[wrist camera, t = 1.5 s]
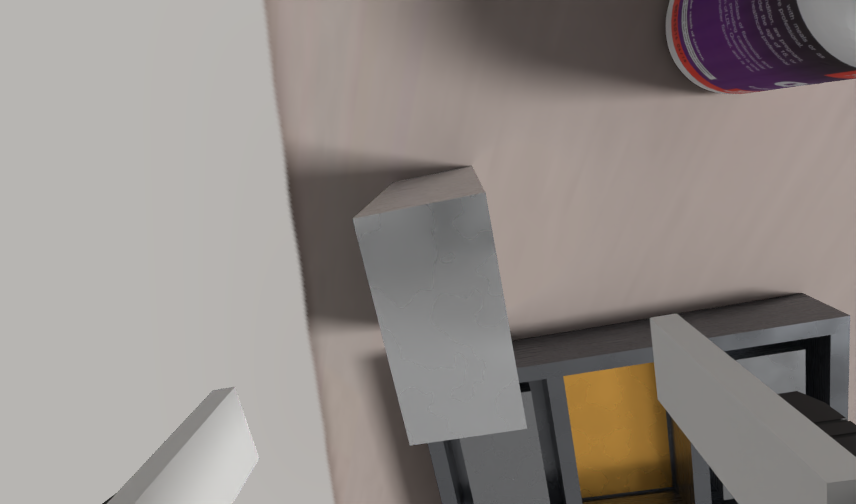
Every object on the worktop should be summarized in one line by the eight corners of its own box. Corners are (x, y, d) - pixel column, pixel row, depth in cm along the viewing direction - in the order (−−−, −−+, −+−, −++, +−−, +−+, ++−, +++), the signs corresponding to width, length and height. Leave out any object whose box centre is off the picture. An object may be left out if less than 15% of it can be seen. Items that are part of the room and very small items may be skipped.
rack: (417, 356, 32) (413, 384, 28) (802, 293, 29) (850, 315, 26) (456, 522, 35) (457, 566, 32) (803, 479, 33) (845, 521, 29)
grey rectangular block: (393, 182, 29) (352, 218, 17) (472, 165, 28) (485, 192, 17) (425, 327, 31) (409, 445, 20) (499, 314, 31) (527, 428, 19)
